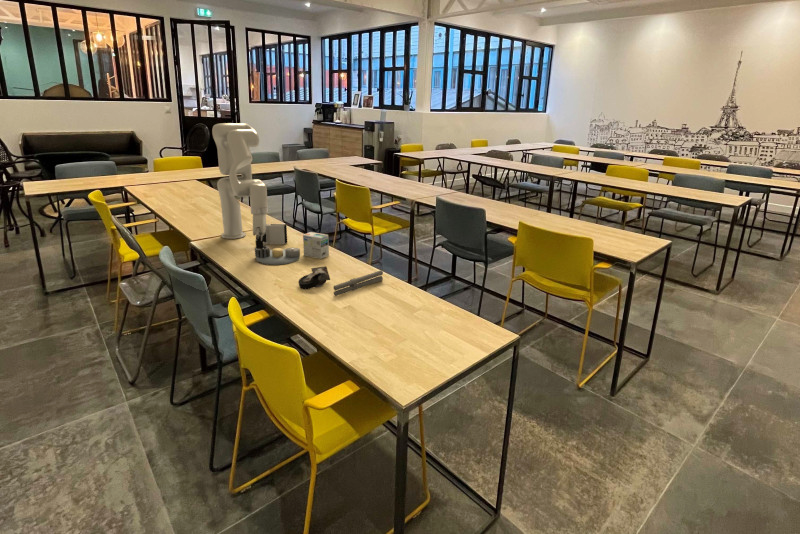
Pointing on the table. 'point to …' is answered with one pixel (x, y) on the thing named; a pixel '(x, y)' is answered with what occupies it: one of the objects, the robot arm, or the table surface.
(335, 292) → the metal rod assembly
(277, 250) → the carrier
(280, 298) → the table surface
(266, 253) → the gear
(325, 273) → the caster wheel
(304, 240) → the light bulb box
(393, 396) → the table surface
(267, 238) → the hinge
